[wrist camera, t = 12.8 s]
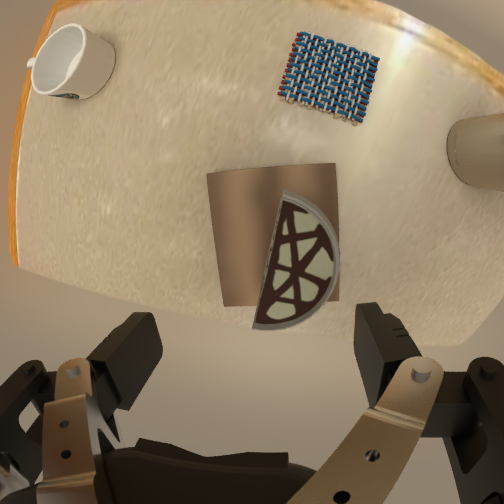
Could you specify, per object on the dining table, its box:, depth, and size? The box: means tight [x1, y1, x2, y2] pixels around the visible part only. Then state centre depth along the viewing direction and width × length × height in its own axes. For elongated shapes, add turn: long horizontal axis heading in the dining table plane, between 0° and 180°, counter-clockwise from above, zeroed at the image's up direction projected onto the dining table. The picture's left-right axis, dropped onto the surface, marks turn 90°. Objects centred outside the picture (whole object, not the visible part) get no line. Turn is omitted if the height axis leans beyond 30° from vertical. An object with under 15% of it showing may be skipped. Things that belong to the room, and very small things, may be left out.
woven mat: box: [278, 31, 380, 126], centre depth 28 cm, size 10×11×2 cm
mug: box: [27, 24, 115, 100], centre depth 26 cm, size 13×10×8 cm
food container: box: [252, 189, 340, 331], centre depth 27 cm, size 12×6×10 cm, turn 169°
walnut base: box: [206, 163, 339, 307], centre depth 33 cm, size 14×16×3 cm
